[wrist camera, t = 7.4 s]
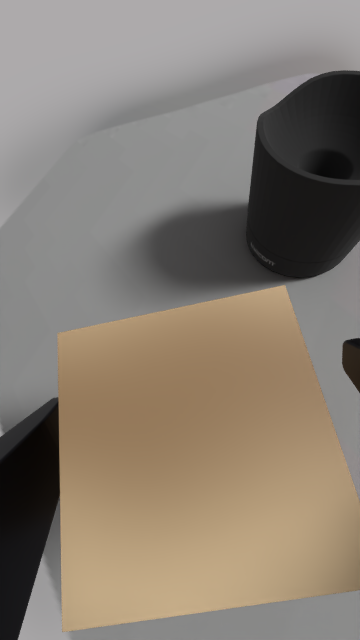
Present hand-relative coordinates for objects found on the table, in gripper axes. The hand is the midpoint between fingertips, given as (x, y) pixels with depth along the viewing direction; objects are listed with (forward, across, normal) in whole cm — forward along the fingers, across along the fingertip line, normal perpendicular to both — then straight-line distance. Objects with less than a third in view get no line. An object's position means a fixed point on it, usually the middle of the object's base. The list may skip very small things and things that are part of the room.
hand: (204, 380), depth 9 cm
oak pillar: (+5, 0, +7) cm, 8 cm away
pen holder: (+18, -10, 0) cm, 21 cm away
